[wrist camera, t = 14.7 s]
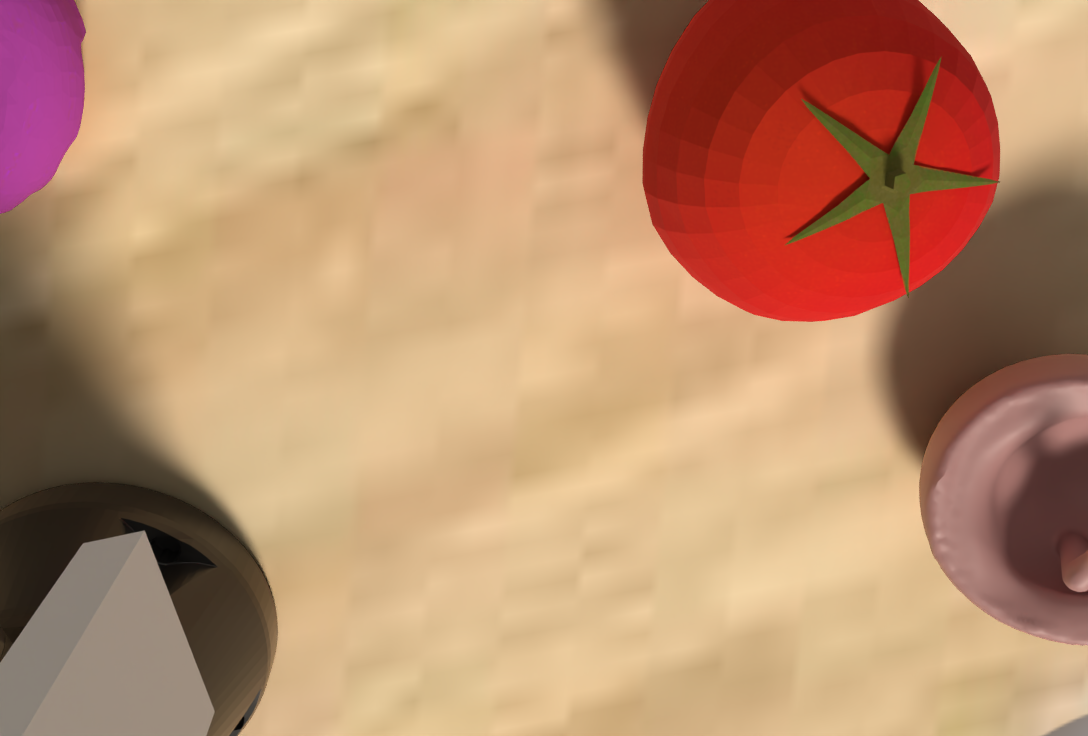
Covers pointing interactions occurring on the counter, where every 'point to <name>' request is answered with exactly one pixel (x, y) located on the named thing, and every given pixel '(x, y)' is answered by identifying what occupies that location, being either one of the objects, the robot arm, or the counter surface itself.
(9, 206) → the donut
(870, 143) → the tomato
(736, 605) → the counter surface
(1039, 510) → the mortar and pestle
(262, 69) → the counter surface
